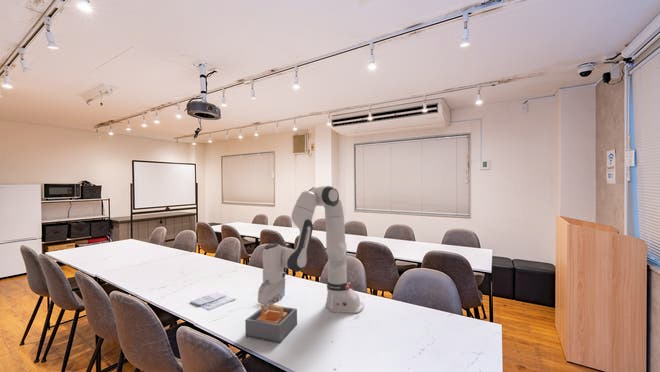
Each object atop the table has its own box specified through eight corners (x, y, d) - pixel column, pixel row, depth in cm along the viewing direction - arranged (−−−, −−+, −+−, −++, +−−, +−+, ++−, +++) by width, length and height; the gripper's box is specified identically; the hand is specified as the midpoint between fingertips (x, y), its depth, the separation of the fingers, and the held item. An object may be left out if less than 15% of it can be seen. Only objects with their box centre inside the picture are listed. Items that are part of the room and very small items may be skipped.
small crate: (287, 324, 139) (287, 302, 139) (276, 335, 128) (276, 312, 128) (268, 321, 142) (268, 300, 142) (256, 332, 132) (256, 309, 132)
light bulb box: (279, 301, 170) (278, 283, 170) (268, 300, 171) (268, 283, 172) (285, 294, 181) (285, 278, 181) (275, 294, 182) (275, 277, 182)
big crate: (297, 324, 141) (296, 308, 141) (279, 343, 124) (279, 325, 124) (266, 319, 147) (266, 304, 147) (245, 337, 130) (245, 319, 130)
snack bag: (217, 294, 184) (217, 290, 185) (236, 300, 173) (236, 297, 173) (189, 304, 169) (189, 300, 169) (208, 312, 157) (207, 308, 157)
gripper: (266, 285, 125) (266, 315, 124) (287, 271, 144) (287, 298, 144) (254, 283, 127) (254, 314, 126) (276, 270, 146) (276, 297, 146)
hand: (272, 305), depth 135 cm, fingers open, 8 cm apart
